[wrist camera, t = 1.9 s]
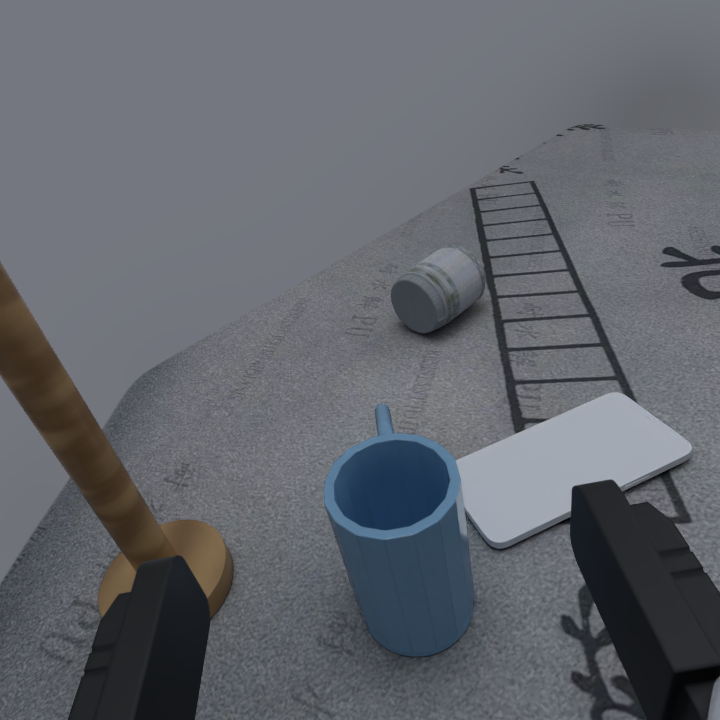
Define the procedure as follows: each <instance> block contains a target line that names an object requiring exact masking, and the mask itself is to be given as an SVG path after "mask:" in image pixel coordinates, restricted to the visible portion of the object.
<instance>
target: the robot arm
mask: <svg viewBox="0 0 720 720" xmlns="http://www.w3.org/2000/svg"><path fill="white" fill-rule="evenodd" d="M570 538H571V544H572V548H573V552H574V555H575V558H576V561H577V564H578V566H579V568H580V571H581V573H582V575H583V577H584V580H585V582H586V584H587V586H588V589H589V591H590V593H591V595H592V598H593V600H594V602H595V604H596V606H597V609H598V611H599V613H600V615H601V618H602V620H603V622H604V624H605V627H606V629H607V631H608V633H609V636H610V638H611V640H612V642H613V645H614V647H615V649H616V651H617V654H618V656H619V658H620V660H621V662H622V665H623V667H624V669H625V671H626V674H627V676H628V678H629V680H630V683H631V685H632V687H633V689H634V692H635V694H636V696H637V698H638V701H639V703H640V705H641V707H642V710H643V712H644V714H645V716H646V719H647V720H720V593H719V591H718V590H717V588H716V587H715V585H714V584H713V582H712V581H711V579H710V578H709V576H708V574H707V573H705V572H704V571H703V567H702V565H701V564H700V562H699V561H698V559H697V558H696V556H695V555H694V553H693V552H691V551H690V549H689V545H688V544H687V542H686V541H685V539H684V538H683V536H682V535H681V533H680V532H679V530H678V529H677V527H676V526H675V524H674V523H673V521H671V520H670V519H669V518H668V517H666V516H665V515H664V514H663V513H661V512H660V511H659V510H657V509H656V508H655V507H654V506H652V505H651V504H650V503H649V502H645V503H639V504H633V505H630V504H629V503H628V501H627V499H626V498H625V496H624V494H623V493H622V491H621V489H620V488H619V486H618V485H617V483H616V482H615V481H614V480H612V479H609V480H604V481H598V482H592V483H587V484H581V485H576V486H573V488H572V496H571V523H570ZM209 627H210V609H209V603H208V599H207V597H206V595H205V593H204V591H203V589H202V588H201V586H200V584H199V583H198V581H197V579H196V578H195V576H194V574H193V573H192V571H191V569H190V568H189V566H188V564H187V563H186V561H185V559H184V558H183V557H182V556H180V555H177V556H171V557H166V558H160V559H155V560H149V561H144V562H142V563H141V564H140V566H139V567H138V570H137V572H136V576H135V579H134V582H133V586H132V589H131V592H126V593H120V594H118V596H117V597H116V599H115V600H114V601H113V603H112V604H111V606H110V607H109V609H108V610H107V612H106V613H105V614H104V616H103V617H102V619H101V621H100V624H99V627H98V630H97V633H96V636H95V639H94V642H93V645H92V653H90V654H89V657H88V660H87V663H86V666H85V669H84V671H85V675H84V676H82V678H81V681H80V684H79V687H78V690H77V693H76V696H75V699H74V702H73V705H72V708H71V711H70V714H69V717H68V720H195V714H196V708H197V702H198V696H199V689H200V683H201V677H202V671H203V665H204V658H205V652H206V646H207V640H208V634H209Z"/></svg>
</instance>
